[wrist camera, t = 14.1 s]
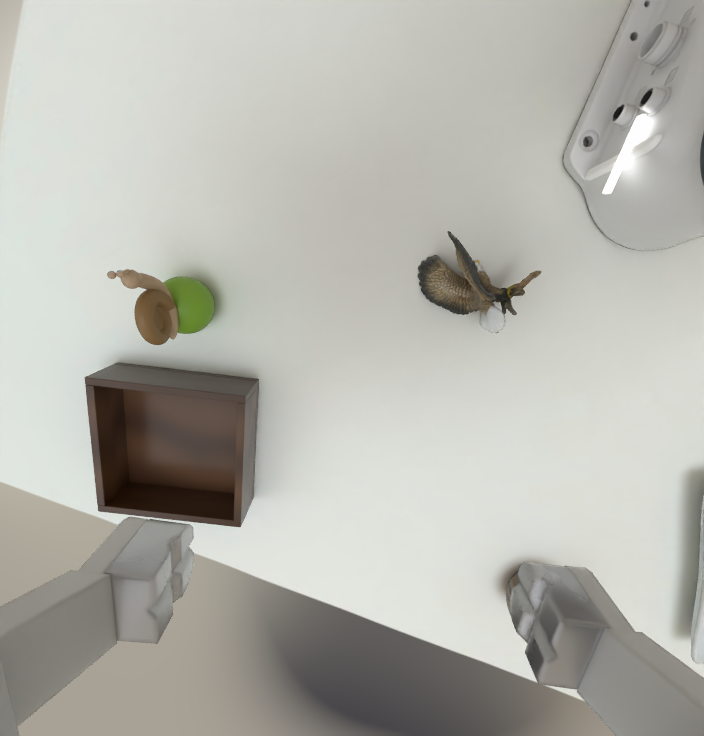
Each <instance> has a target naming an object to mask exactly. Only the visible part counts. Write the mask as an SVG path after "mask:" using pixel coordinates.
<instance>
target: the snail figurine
mask: <svg viewBox="0 0 704 736" xmlns="http://www.w3.org/2000/svg"><path fill="white" fill-rule="evenodd" d="M116 275H117V276H118V277H120V278H121V281H122V283H123V284H124V285H125V286H126V287H128V288H130V289H134V288H137V287H140V288H144V289H147V290H146V291H144V292H143V293H142V294H141V295H140V296H139V297H138V299H137V301H136V305H135V320H136V325H137V328H138V330H139V332H140V334H141V335H142V337H143V338H144V339H145V340H146V341H147V342H149V343H151V344H154V345H161V344H163V343H165V342H166V341H167V340H168V339H169V337H170V338H171V339H174V338H175V337H176V335H177V332H178V333H183V334H189V333H195V332H198V331H200V330H202V329H203V328H205V327H206V326H207V325H208V324H209V323H210V321H211V320H212V318H213V315H214V311H215V303H214V299H213V296H212V294H211V292H210V291H209V290H208V288H207V287H206V286H205V285H204V284H202V283H201V282H199V281H197V280H195V279H193V278H189V277H175V278H171V279H169V280H167V281H165V282H164V283H162V282H161V281H160V280H158V279H156V278H154V277H152V276H149V275H146V274H142V273H137V272H136V271H134V270H129V269H127V270H124V271H122V270H120V271H117V273H115V272H113V271H111V272H108V273H107V276H108V277H109V278H111V279H114V278H115V277H116Z"/></svg>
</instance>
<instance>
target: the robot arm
mask: <svg viewBox="0 0 704 736" xmlns="http://www.w3.org/2000/svg"><path fill="white" fill-rule="evenodd" d="M584 138H586V139H587V140H588V146H587V147H585V146H584V144H583V140H584ZM563 163H564V166H565V168H566V170H567V172H568V173H569V174H570V175H571V177H572V178H573V179H574V180H575V181H576V182H577V183H578V184H579V185H580V186H581V188H582V190H583V192H584V195H585V198H586V202H587V205H588V208H589V211H590V214H591V216H592V218H593V220H594V221H595V223H596V224H597V226H598V227H599V229H600V230H601V231H602V232H603V233H604V234H605V235H606V236H607V237H608V238H610V239H611V240H612V241H614V242H616V243H617V244H619V245H622V246H624V247H627V248H630V249H634V250H641V251H655V250H662V249H667V248H670V247H673V246H676V245H679V244H681V243H684V242H686V241H689V240H692V239H695V238H699V237H703V236H704V0H632V1H631V3H630V6H629V8H628V10H627V12H626V15H625V17H624V19H623V21H622V24H621V26H620V28H619V31H618V33H617V35H616V37H615V40H614V42H613V44H612V46H611V49H610V51H609V53H608V55H607V58H606V60H605V62H604V64H603V67H602V69H601V71H600V74H599V76H598V78H597V80H596V83H595V85H594V87H593V89H592V92H591V94H590V96H589V98H588V101H587V103H586V105H585V108H584V110H583V112H582V114H581V117H580V119H579V121H578V123H577V126H576V128H575V130H574V132H573V135H572V137H571V139H570V141H569V144H568V146H567V148H566V151H565V153H564V157H563ZM193 538H194V536H193V527H192V526H191V525H189V524H182V523H175V522H167V521H160V520H153V519H150V520H149V519H142V518H135V517H128V518H126V519H124V520H123V521H122V522H121V523H120V524H119V525H118V526H117V527H116V529H115V530H114V531H113V532H112V533H111V534H110V536H108V537H107V539H106V540H105V541H104V542H103V543H102V544H101V545H100V547H99V548H98V549H97V550H96V551H95V552H94V553H93V554H92V556H91V557H90V558H89V559H88V560H87V561H86V562H85V563H84V565H82V567H81V568H80V569H79V570H78V571H73V570H70V571H68V572H66V573H65V574H63V575H61V576H59V577H57V578H55V579H53V580H51V581H49V582H47V583H45V584H43V585H41V586H39V587H37V588H35V589H33V590H31V591H30V592H28V593H26V594H24V595H22V596H20V597H18V598H16V599H14V600H12V601H10V602H8V603H6V604H4V605H2V606H0V736H20V735H19V731H18V726H19V725H20V724H21V723H23V722H24V721H25V720H26V719H27V718H28V717H30V716H31V715H32V714H33V713H34V712H36V711H37V710H38V709H39V708H40V707H42V706H43V705H44V704H45V703H46V702H47V701H49V700H50V699H51V698H52V697H53V696H55V695H56V694H57V693H58V692H59V691H61V690H62V689H63V688H64V687H65V686H67V685H68V684H69V683H70V682H71V681H73V680H74V679H75V678H76V677H77V676H79V675H80V674H81V673H82V672H83V671H85V669H87V668H88V667H89V666H90V665H92V664H93V663H94V662H95V661H96V660H98V659H99V658H100V657H101V656H102V655H104V654H105V653H106V652H107V651H108V650H109V649H111V648H112V647H113V646H114V645H115V644H117V641H129V642H141V643H155V644H157V643H158V642H159V640H160V638H161V636H162V634H163V632H164V630H165V628H166V626H167V624H168V623H169V621H170V619H171V617H172V615H173V602H175V601H176V600H178V599H179V598H180V597H182V596H183V593H184V591H185V589H186V588H187V585H188V583H189V580H190V576H191V573H192V569H193V563H194V553H193V551H192V550H191V549H190V547H189V545H190V543H191V542H192V540H193ZM518 576H519V578H520V581H521V582H520V583H519V584H518V585H516V586H515V587H514V588H513V589H512V593H511V597H510V613H511V617H512V622H513V624H514V627H515V629H516V632H517V633H518V634H519V635H520V636H521V637H522V638H523V639H524V640H525V641H526V642H527V647H526V650H525V654H526V656H527V658H528V661H529V663H530V665H531V668H532V670H533V673H534V675H535V677H536V680H537V682H538V684H541V685H548V686H555V687H563V688H570V689H577V692H578V694H579V695H580V696H581V697H582V698H583V699H584V700H585V702H586V703H587V704H588V705H589V706H590V707H591V708H592V709H593V711H594V712H595V713H596V714H597V715H598V716H599V717H600V719H601V720H602V721H603V722H604V723H605V724H606V725H607V726H608V728H609V729H610V730H611V731H612V732H613V733H614V734H615V736H704V678H703V677H702V676H700V675H699V674H698V673H696V672H695V671H693V670H692V669H691V668H689V667H688V666H687V665H685V664H684V663H683V662H681V661H680V660H679V659H677V658H676V657H675V656H673V655H672V654H670V653H669V652H668V651H666V650H665V649H664V648H662V647H661V646H660V645H658V644H657V643H656V642H654V641H653V640H652V639H650V638H649V637H647V636H646V635H645V634H643V633H642V632H635V631H634V629H633V628H632V627H631V625H630V624H629V622H628V621H627V620H626V618H625V617H624V616H623V614H622V613H621V612H620V610H619V609H618V607H617V606H616V605H615V603H614V602H613V601H612V599H611V598H610V597H609V595H608V594H607V592H606V591H605V590H604V588H603V587H602V586H601V584H600V583H599V582H598V580H597V579H596V577H595V576H594V575H593V573H592V572H591V571H589V570H588V569H587V568H583V567H572V566H560V565H550V564H540V563H530V562H524V563H523V564H522V565H521V566H520V568H519V571H518Z"/></svg>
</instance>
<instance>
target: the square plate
mask: <svg viewBox="0 0 704 736" xmlns="http://www.w3.org/2000/svg"><path fill="white" fill-rule="evenodd" d="M691 657H692V659H693V661H694V662H695V663H697V664H704V497H703V502H702V512H701V534H700V557H699V574H698V583H697V592H696V600H695V606H694V612H693V619H692V629H691Z"/></svg>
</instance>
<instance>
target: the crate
mask: <svg viewBox="0 0 704 736" xmlns="http://www.w3.org/2000/svg"><path fill="white" fill-rule="evenodd" d="M85 384H86V395H87V405H88V415H89V424H90V434H91V444H92V454H93V464H94V474H95V483H96V493H97V503H98V511H100V512H109V513H118V514H127V515H136V516H145V517H154V518H163V519H172V520H181V521H189V522H198V523H207V524H216V525H225V526H234V527H241V525H242V523H243V521H244V518H245V516H246V514H247V511H248V509H249V507H250V504H251V502H252V500H253V493H254V472H255V451H256V430H257V409H258V388H259V379H251V378H243V377H234V376H226V375H217V374H209V373H201V372H192V371H184V370H176V369H167V368H159V367H151V366H142V365H134V364H126V363H115V364H113V365H111V366H109V367H107V368H104V369H102V370H100V371H98V372H96V373H93V374H91V375H89V376H87V377H85Z"/></svg>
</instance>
